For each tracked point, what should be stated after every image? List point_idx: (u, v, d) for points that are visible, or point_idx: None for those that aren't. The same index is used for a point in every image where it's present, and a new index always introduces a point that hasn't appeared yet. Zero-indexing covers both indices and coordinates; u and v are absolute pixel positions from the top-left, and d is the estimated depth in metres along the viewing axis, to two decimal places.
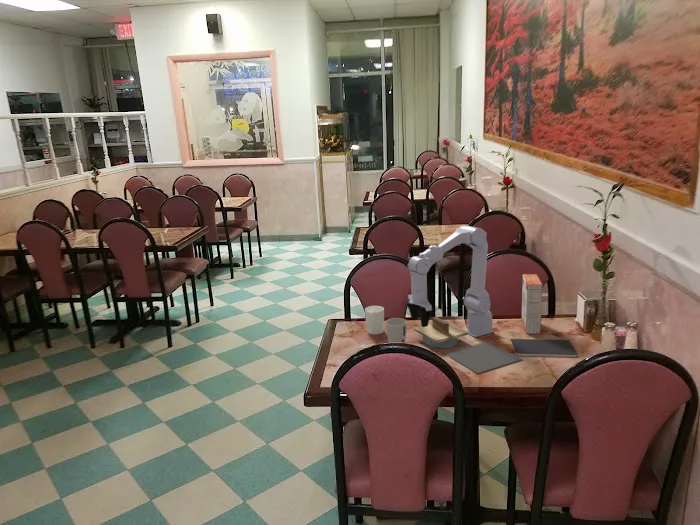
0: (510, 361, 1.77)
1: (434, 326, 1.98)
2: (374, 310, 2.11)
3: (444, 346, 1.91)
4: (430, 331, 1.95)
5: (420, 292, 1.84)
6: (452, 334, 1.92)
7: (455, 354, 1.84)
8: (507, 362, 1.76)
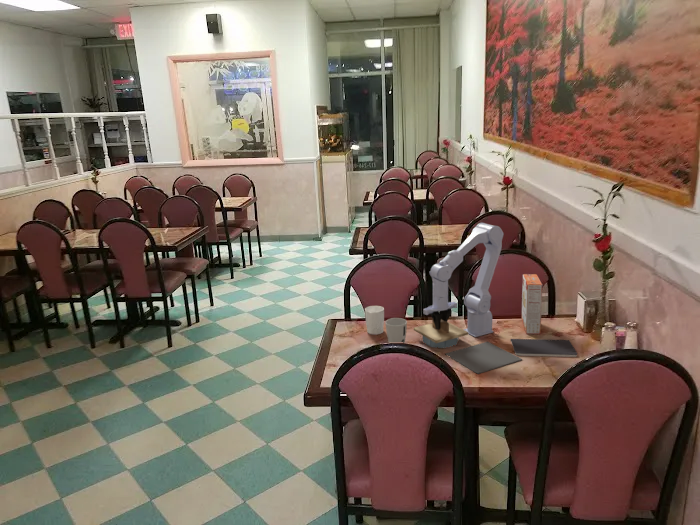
0: (510, 361, 1.77)
1: (434, 326, 1.98)
2: (374, 310, 2.11)
3: (444, 346, 1.91)
4: (430, 331, 1.95)
5: (433, 297, 1.93)
6: (452, 334, 1.92)
7: (455, 354, 1.84)
8: (507, 362, 1.76)
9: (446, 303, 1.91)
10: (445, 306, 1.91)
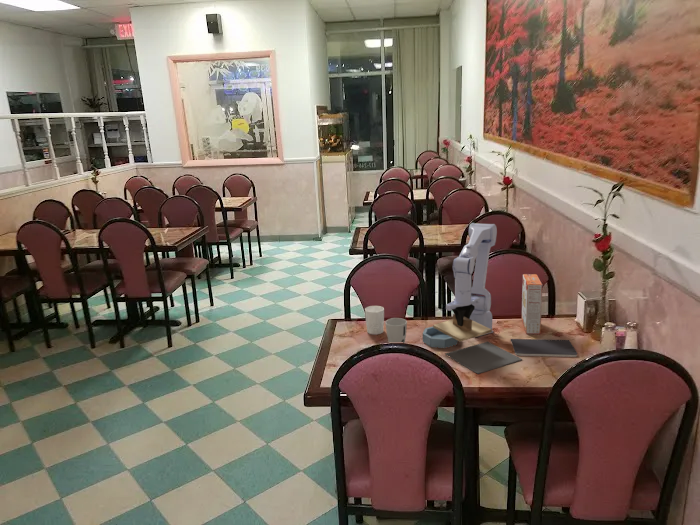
0: (510, 361, 1.77)
1: (455, 323, 1.88)
2: (374, 310, 2.11)
3: (444, 346, 1.91)
4: (451, 328, 1.86)
5: (455, 291, 1.83)
6: (476, 332, 1.82)
7: (455, 354, 1.84)
8: (507, 362, 1.76)
9: (469, 298, 1.82)
10: (469, 301, 1.82)
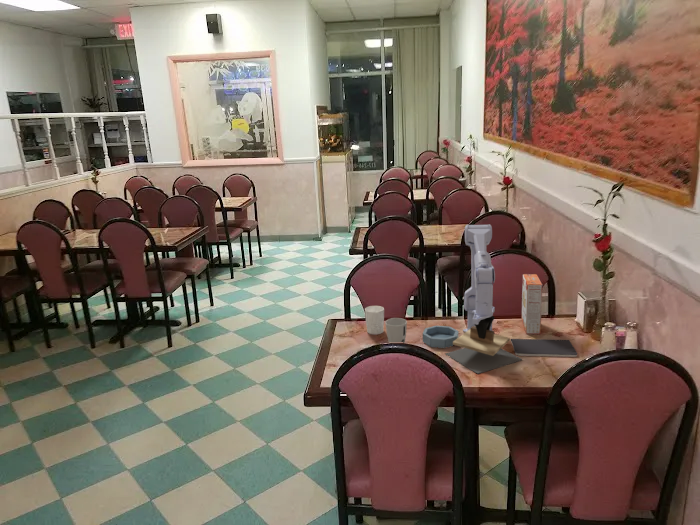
0: (510, 361, 1.77)
1: (473, 337, 1.81)
2: (374, 310, 2.11)
3: (444, 346, 1.91)
4: (474, 343, 1.78)
5: (478, 303, 1.75)
6: (499, 343, 1.78)
7: (455, 354, 1.84)
8: (507, 362, 1.76)
9: (492, 308, 1.76)
10: (491, 312, 1.76)
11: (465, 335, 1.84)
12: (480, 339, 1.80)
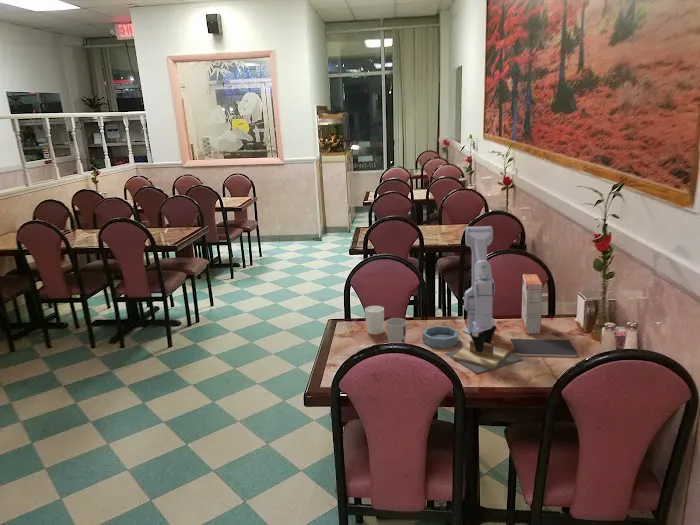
0: (510, 361, 1.77)
1: (473, 350, 1.82)
2: (374, 310, 2.11)
3: (444, 346, 1.91)
4: (474, 357, 1.79)
5: (478, 316, 1.76)
6: (499, 356, 1.79)
7: None
8: (507, 362, 1.76)
9: (491, 320, 1.77)
10: (491, 324, 1.77)
11: (465, 349, 1.86)
12: (480, 352, 1.81)
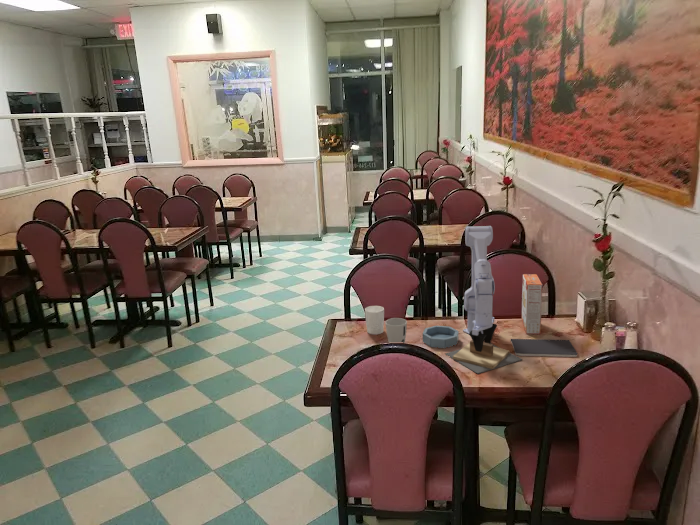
0: (510, 361, 1.77)
1: (473, 350, 1.82)
2: (374, 310, 2.11)
3: (444, 346, 1.91)
4: (474, 357, 1.79)
5: (478, 314, 1.76)
6: (499, 356, 1.79)
7: None
8: (507, 362, 1.76)
9: (491, 319, 1.77)
10: (491, 322, 1.77)
11: (465, 349, 1.86)
12: (480, 352, 1.81)
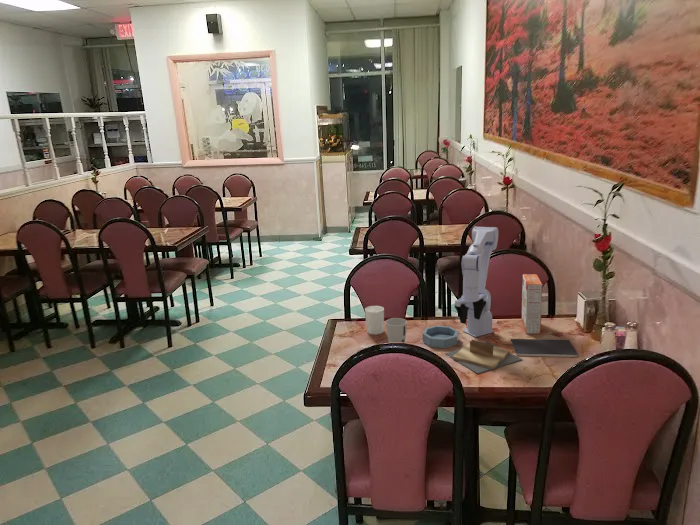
0: (510, 361, 1.77)
1: (473, 350, 1.82)
2: (374, 310, 2.11)
3: (444, 346, 1.91)
4: (474, 357, 1.79)
5: (463, 288, 1.88)
6: (499, 356, 1.79)
7: None
8: (507, 362, 1.76)
9: (477, 294, 1.87)
10: (476, 297, 1.87)
11: (465, 349, 1.86)
12: (480, 352, 1.81)
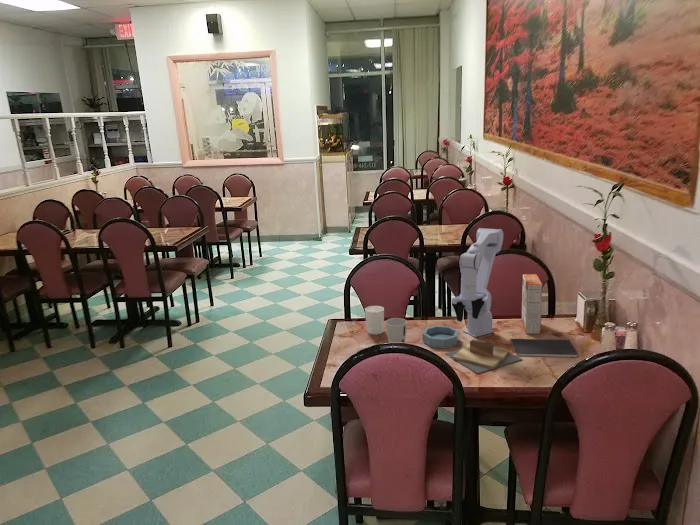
0: (510, 361, 1.77)
1: (473, 350, 1.82)
2: (374, 310, 2.11)
3: (444, 346, 1.91)
4: (474, 357, 1.79)
5: (461, 286, 1.89)
6: (499, 356, 1.79)
7: None
8: (507, 362, 1.76)
9: (475, 293, 1.88)
10: (474, 296, 1.88)
11: (465, 349, 1.86)
12: (480, 352, 1.81)
